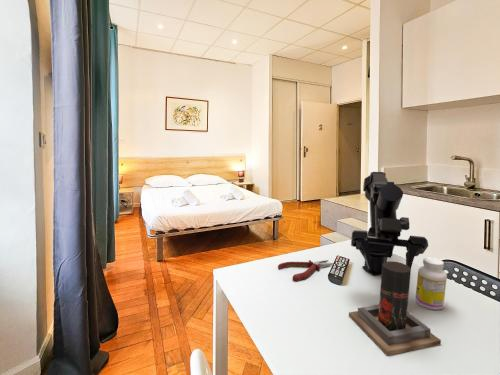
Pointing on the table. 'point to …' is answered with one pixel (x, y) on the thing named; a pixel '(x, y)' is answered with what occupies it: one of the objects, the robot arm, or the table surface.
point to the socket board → (394, 332)
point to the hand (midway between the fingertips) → (388, 271)
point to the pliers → (310, 265)
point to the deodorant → (394, 295)
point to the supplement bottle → (431, 284)
